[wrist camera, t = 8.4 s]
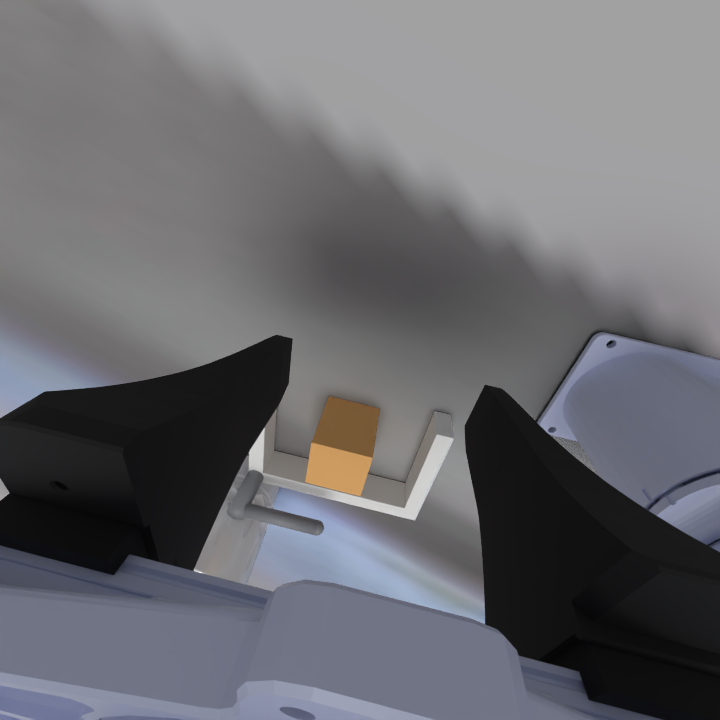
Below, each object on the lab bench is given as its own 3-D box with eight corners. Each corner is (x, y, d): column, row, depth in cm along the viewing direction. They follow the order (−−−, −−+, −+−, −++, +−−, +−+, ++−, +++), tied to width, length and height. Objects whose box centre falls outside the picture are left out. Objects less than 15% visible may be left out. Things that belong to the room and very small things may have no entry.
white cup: (255, 512, 34) (202, 627, 25) (194, 470, 32) (113, 579, 23) (302, 484, 30) (259, 606, 22) (236, 434, 28) (160, 548, 20)
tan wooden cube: (379, 408, 24) (372, 457, 20) (368, 444, 27) (360, 496, 22) (329, 395, 25) (311, 442, 20) (322, 432, 27) (305, 482, 22)
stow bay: (450, 414, 24) (460, 481, 19) (414, 495, 29) (414, 565, 24) (262, 369, 24) (222, 422, 19) (259, 456, 29) (227, 517, 24)
